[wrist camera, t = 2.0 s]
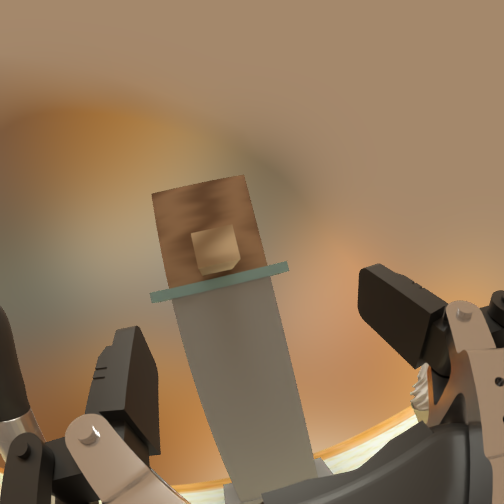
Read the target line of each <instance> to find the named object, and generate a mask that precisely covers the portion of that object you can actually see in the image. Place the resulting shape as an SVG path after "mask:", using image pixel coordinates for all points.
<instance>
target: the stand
mask: <svg viewBox="0 0 504 504" xmlns="http://www.w3.org/2000/svg"><path fill="white" fill-rule="evenodd" d="M287 271H289V268H288V265H287V262H286V261H285V262H281V263H277V264H273V265H269V266H265V267H260V268H256V269H252V270H248V271H244V272H240V273H235V274H231V275H227V276H223V277H218V278H214V279H210V280H205V281H201V282H197V283H192V284H188V285H184V286H179V287H175V288H170V289H166V290H162V291H157V292H152V293H150V296H151V301H152V303H155V302H162V301H167V300H172V303H173V307H174V311H175V315H176V319H177V323H178V327H179V331H180V334H181V338H182V342H183V345H184V349H185V352H186V356H187V359H188V362H189V366H190V369H191V373H192V375H193V379H194V382H195V385H196V388H197V391H198V394H199V397H200V400H201V404H202V406H203V409H204V412H205V415H206V418H207V421H208V423H209V426H210V429H211V431H212V434H213V437H214V440H215V442H216V445H217V447H218V450H219V452H220V455H221V457H222V460H223V462H224V465H225V467H226V469H227V472H228V474H229V476H230V479H231V481H232V483H230V484H224V485H223V486H224V496H225V504H260V503H262V502H264V501H263V499H262V496H261V493H265V492H269V491H272V490H276V489H279V488H283V487H286V486H289V485H292V484H295V483H298V482H301V481H304V480H307V479H313V478H319V477H325V476H330V475H333V473H332V472H331V471H330V469H329V468H328V467H327V465H326V464H325V463H324V462H323V460H322V459H321V458H317V459H315V460H314V457H313V453H312V449H311V444H310V440H309V436H308V431H307V427H306V423H305V418H304V414H303V410H302V406H301V401H300V397H299V393H298V389H297V384H296V380H295V376H294V372H293V368H292V363H291V359H290V355H289V351H288V347H287V343H286V338H285V335H284V330H283V326H282V323H281V318H280V314H279V310H278V306H277V302H276V298H275V294H274V290H273V286H272V282H271V278H270V276H273V275H277V274H280V273H283V272H287Z"/></svg>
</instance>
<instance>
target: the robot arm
mask: <svg viewBox="0 0 504 504" xmlns="http://www.w3.org/2000/svg"><path fill="white" fill-rule="evenodd" d="M358 310H359V313H360V316H361V317H362V319H363V320H364V321H365V322H366V323H367V324H368V325H370V326H371V327H372V328H373V329H374V330H375V331H376V332H377V333H378V334H379V335H380V336H381V337H382V338H383V339H384V340H385V341H386V342H387V343H388V344H389V345H390V346H391V347H392V348H394V349H395V350H396V351H397V352H398V353H399V354H400V355H401V356H402V357H403V358H404V359H405V360H406V361H407V362H408V363H409V364H410V365H411V366H412V367H413V368H414V369H417V368H418V367H420V366H422V365H423V364H425V363H427V364H428V365H429V366H428V369H427V381H428V398H429V415H428V420H427V423H426V424H425V423H424V422H423V420H422V421H420V422H419V423H417V424H416V425H414V426H413V427H411V428H410V429H408V430H407V431H405V432H403V433H402V434H400V435H399V436H397V437H395V438H394V439H392V440H390V441H389V442H388V443H387V444H386V445H385V446H384V447H383V448H382V449H381V450H379V451H378V452H377V453H376V454H375V455H374V456H373V457H371V458H370V459H369V460H368V461H367V462H366V463H364V464H363V465H362V466H361V467H359V468H358V469H356V470H353V471H349V472H345V473H340V474H336V475H330V476H325V477H319V478H313V479H307V480H304V481H301V482H298V483H295V484H292V485H289V486H286V487H283V488H279V489H276V490H272V491H269V492H265V493H261V496H262V499H263V501H264V502H262V503H260V504H504V291H502V290H500V291H496V292H494V293H493V294H492V297H491V301H490V304H489V306H486V307H483V308H478V307H477V306H476V305H474V304H472V303H470V302H467V301H454V302H451V303H450V304H448V303H446V302H445V301H443V300H442V299H440V298H439V297H437V296H436V295H434V294H433V293H431V292H430V291H428V290H426V289H425V288H422V286H420V285H419V284H417V283H414V281H412V280H410V279H409V278H408V277H406V276H404V275H401V274H397V273H395V272H393V271H391V270H390V269H388V268H386V267H385V266H383V265H381V264H375V265H372V266H369V267H366V268H363V269H361V270H360V273H359V288H358ZM95 369H96V371H95V372H94V375H93V381H92V384H91V388H90V392H89V396H88V401H87V405H86V410H85V415H82V416H80V417H78V418H77V419H75V420H74V421H73V422H72V423H71V424H70V425H69V427H68V429H67V431H66V434H65V437H62V438H59V439H56V440H52V441H49V442H46V441H45V439H44V437H43V435H42V432H41V430H40V428H39V426H38V424H37V421H36V419H35V417H34V414H33V412H32V410H31V408H30V405H29V402H28V399H27V395H26V390H25V384H24V381H23V378H22V374H21V371H20V367H19V363H18V358H17V354H16V349H15V344H14V340H13V335H12V331H11V327H10V324H9V321H8V318H7V316H6V313H5V312H4V310H3V309H2V307H1V306H0V453H1V455H2V457H3V459H4V461H5V462H6V464H5V470H4V475H3V482H2V489H1V497H0V504H99V502H98V500H101V501H102V504H191V503H189V502H188V501H187V500H186V499H185V498H183V497H182V496H181V495H180V494H179V493H177V492H176V491H175V490H174V489H173V488H172V487H171V486H170V485H168V484H167V483H166V482H165V481H164V480H163V479H162V478H161V477H160V476H159V475H158V474H157V473H156V472H155V471H154V470H153V469H151V467H150V466H149V456H152V455H160V454H161V452H160V437H159V408H158V371H157V367H156V363H155V361H154V359H153V356H152V354H151V352H150V350H149V347H148V345H147V343H146V341H145V338H144V336H143V334H142V332H141V330H140V328H139V327H138V326H134V327H128V328H123V329H118V330H116V333H115V337H114V341H113V344H112V346H107V347H106V348H105V349H104V350H103V352H102V353H101V354H100V356H99V357H98V360H97V364H96V368H95Z"/></svg>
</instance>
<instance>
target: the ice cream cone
mask: <svg viewBox="0 0 504 504" xmlns="http://www.w3.org/2000/svg"><path fill="white" fill-rule="evenodd" d="M428 366H429V365H428V364H427V363H425V364H423V365H422V366H421V369H420V371H419V374H418V382H417V383H416V384H414V385H413V386H412V387H415V390H414V391H413V392H411V393H410V394H411V395H414V396H415V398H414V399H413V400H411V401H410V402H411V406H412V408H413V409H414V412H415V414H416V417H417V419H418V422H420V421H422V420H423V422H424V423H425V424H426V423H427V420H428V415H429V398H428V381H427V369H428Z"/></svg>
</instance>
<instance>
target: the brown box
mask: <svg viewBox="0 0 504 504" xmlns="http://www.w3.org/2000/svg"><path fill="white" fill-rule="evenodd" d="M152 200H153V207H154V213H155V219H156V225H157V231H158V236H159V242H160V247H161V252H162V258H163V262H164V267H165V272H166V277H167V281H168V286H169V289H170V288H175V287H179V286H184V285H188V284H192V283H197V282H201V281H205V280H210V279H214V278H218V277H223V276H227V275H231V274H235V273H240V272H244V271H248V270H252V269H256V268H260V267H265V266H267V262H266V258H265V254H264V250H263V246H262V243H261V238H260V235H259V231H258V227H257V223H256V219H255V215H254V211H253V208H252V204H251V200H250V196H249V192H248V188H247V184H246V181H245V177H244V175H239V176H233V177H228V178H223V179H217V180H212V181H207V182H202V183H198V184H193V185H188V186H183V187H179V188H174V189H170V190H166V191H162V192H157V193H153V194H152Z"/></svg>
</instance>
